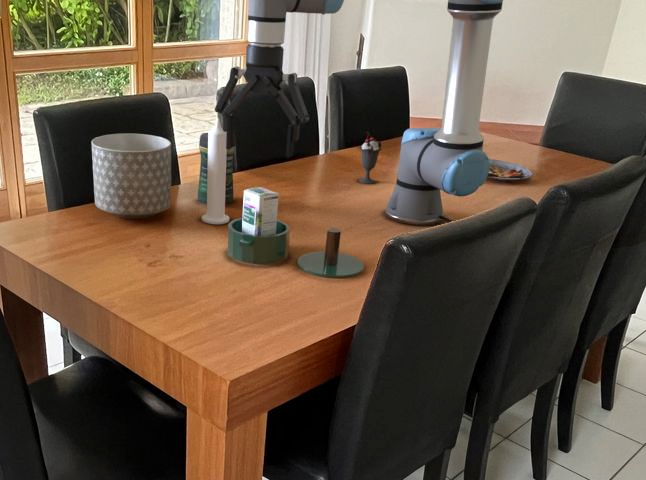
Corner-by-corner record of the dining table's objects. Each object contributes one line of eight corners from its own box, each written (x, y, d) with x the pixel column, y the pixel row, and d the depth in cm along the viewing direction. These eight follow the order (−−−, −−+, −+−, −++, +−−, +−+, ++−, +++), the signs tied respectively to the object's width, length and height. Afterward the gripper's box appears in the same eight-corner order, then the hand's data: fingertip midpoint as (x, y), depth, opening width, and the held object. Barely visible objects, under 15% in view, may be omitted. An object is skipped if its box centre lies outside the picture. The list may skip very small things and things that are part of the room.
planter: (79, 214, 188) (74, 140, 179) (134, 199, 201) (132, 130, 192) (133, 232, 178) (130, 155, 169) (186, 215, 192) (187, 143, 183)
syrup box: (239, 252, 169) (242, 189, 162) (259, 248, 172) (262, 185, 165) (255, 260, 165) (259, 196, 158) (275, 255, 169) (279, 192, 162)
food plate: (539, 187, 234) (542, 176, 233) (466, 183, 234) (468, 171, 232) (517, 167, 256) (519, 157, 254) (450, 163, 256) (451, 153, 254)
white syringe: (219, 226, 185) (221, 122, 173) (196, 220, 188) (197, 117, 176) (234, 219, 191) (238, 118, 178) (212, 214, 194) (214, 113, 181)
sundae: (353, 182, 228) (359, 132, 220) (359, 177, 233) (365, 128, 226) (374, 185, 226) (380, 135, 218) (379, 180, 231) (386, 131, 224)
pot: (298, 247, 175) (300, 219, 172) (272, 274, 159) (274, 244, 156) (243, 238, 179) (245, 210, 175) (213, 264, 163) (214, 234, 159)
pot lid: (369, 262, 169) (374, 225, 164) (355, 285, 157) (360, 245, 152) (307, 252, 172) (310, 215, 168) (288, 273, 160) (291, 234, 156)
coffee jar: (213, 208, 198) (214, 136, 189) (192, 201, 203) (193, 130, 193) (238, 201, 204) (241, 132, 195) (218, 195, 209) (220, 126, 200)
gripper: (330, 48, 149) (319, 156, 160) (215, 37, 156) (212, 141, 166) (320, 52, 143) (310, 163, 154) (200, 40, 150) (198, 147, 160)
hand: (259, 152), depth 160 cm, fingers open, 13 cm apart
